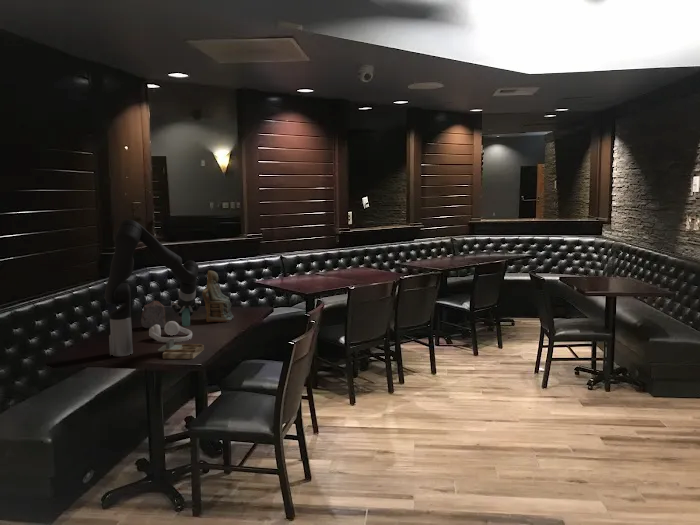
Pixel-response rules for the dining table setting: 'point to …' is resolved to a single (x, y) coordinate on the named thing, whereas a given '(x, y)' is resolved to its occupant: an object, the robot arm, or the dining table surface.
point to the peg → (186, 317)
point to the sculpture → (216, 301)
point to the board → (183, 351)
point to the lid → (170, 345)
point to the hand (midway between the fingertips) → (185, 315)
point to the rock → (153, 315)
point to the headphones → (169, 332)
